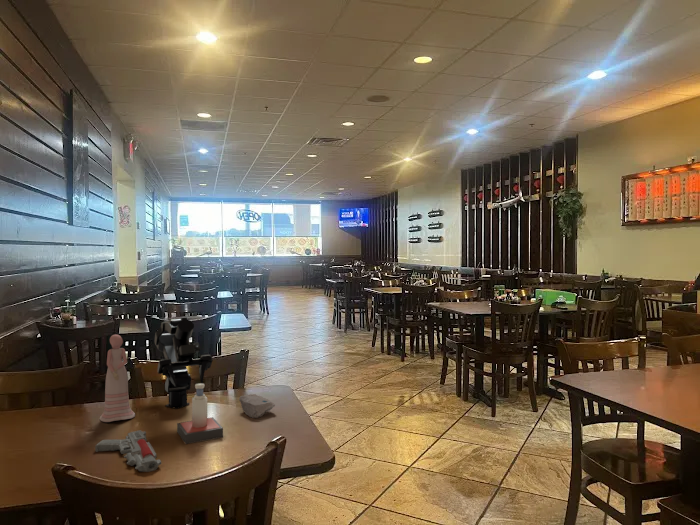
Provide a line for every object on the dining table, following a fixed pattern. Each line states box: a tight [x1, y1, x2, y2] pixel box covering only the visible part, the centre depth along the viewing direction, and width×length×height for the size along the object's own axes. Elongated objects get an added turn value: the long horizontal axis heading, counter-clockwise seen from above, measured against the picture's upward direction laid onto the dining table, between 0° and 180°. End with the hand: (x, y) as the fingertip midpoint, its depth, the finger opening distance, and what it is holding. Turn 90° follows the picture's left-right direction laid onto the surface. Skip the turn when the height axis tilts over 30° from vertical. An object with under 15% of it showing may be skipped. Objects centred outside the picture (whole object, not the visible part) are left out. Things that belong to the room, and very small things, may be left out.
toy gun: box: [94, 429, 162, 473], centre depth 152 cm, size 4×27×15 cm
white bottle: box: [191, 382, 208, 428], centre depth 170 cm, size 5×5×14 cm
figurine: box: [99, 334, 136, 423], centre depth 186 cm, size 13×13×30 cm
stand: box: [176, 417, 224, 445], centre depth 170 cm, size 12×12×3 cm
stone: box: [238, 393, 276, 419], centre depth 193 cm, size 13×10×6 cm
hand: (189, 384), depth 183 cm, fingers open, 9 cm apart
